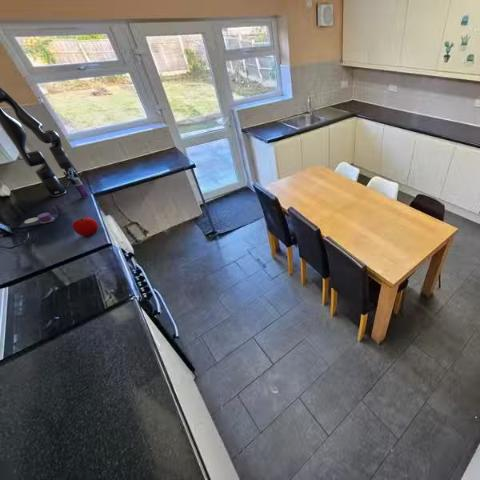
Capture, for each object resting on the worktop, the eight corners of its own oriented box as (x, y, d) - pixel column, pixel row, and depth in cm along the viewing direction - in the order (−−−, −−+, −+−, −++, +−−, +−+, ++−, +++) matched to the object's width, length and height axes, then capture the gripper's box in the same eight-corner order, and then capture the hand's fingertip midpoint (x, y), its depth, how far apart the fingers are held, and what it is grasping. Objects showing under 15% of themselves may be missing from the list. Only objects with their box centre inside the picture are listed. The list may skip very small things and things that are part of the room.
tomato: (76, 240, 162) (65, 225, 155) (81, 230, 171) (71, 215, 164) (99, 236, 166) (90, 220, 159) (103, 226, 174) (94, 211, 167)
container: (85, 198, 205) (74, 180, 196) (80, 197, 206) (69, 179, 197) (91, 195, 209) (80, 177, 200) (86, 195, 210) (75, 177, 201)
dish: (43, 218, 182) (39, 213, 180) (54, 216, 184) (50, 211, 182) (39, 223, 178) (35, 218, 175) (51, 221, 179) (47, 216, 177)
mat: (25, 219, 182) (25, 219, 182) (59, 213, 188) (59, 213, 188) (18, 228, 174) (17, 227, 174) (53, 221, 180) (53, 221, 179)
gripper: (60, 158, 194) (73, 179, 204) (53, 165, 184) (67, 186, 193) (73, 156, 197) (85, 177, 206) (66, 163, 186) (79, 184, 196)
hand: (76, 182), depth 200 cm, fingers open, 8 cm apart
